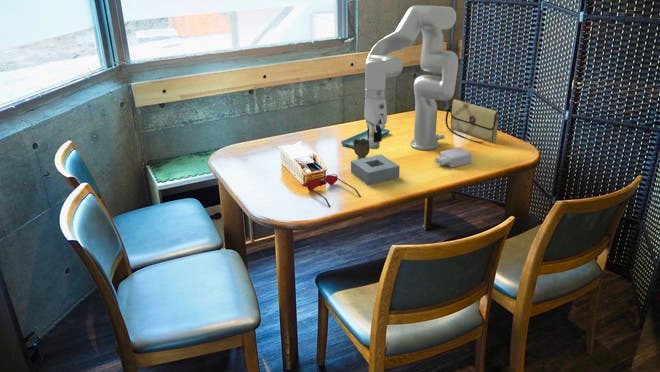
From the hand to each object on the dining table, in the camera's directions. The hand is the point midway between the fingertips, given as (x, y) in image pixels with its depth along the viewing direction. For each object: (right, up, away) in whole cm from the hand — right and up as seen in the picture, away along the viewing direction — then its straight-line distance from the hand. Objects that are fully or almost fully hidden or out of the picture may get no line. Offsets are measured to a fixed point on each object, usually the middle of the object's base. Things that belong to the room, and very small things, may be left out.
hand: (374, 139), depth 211 cm
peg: (0, -3, +1) cm, 3 cm away
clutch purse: (+48, +5, +44) cm, 65 cm away
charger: (+32, -9, +15) cm, 37 cm away
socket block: (+1, -14, +7) cm, 15 cm away
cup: (-3, -6, +23) cm, 24 cm away
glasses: (-16, -22, -8) cm, 28 cm away
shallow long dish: (0, +3, +45) cm, 45 cm away
